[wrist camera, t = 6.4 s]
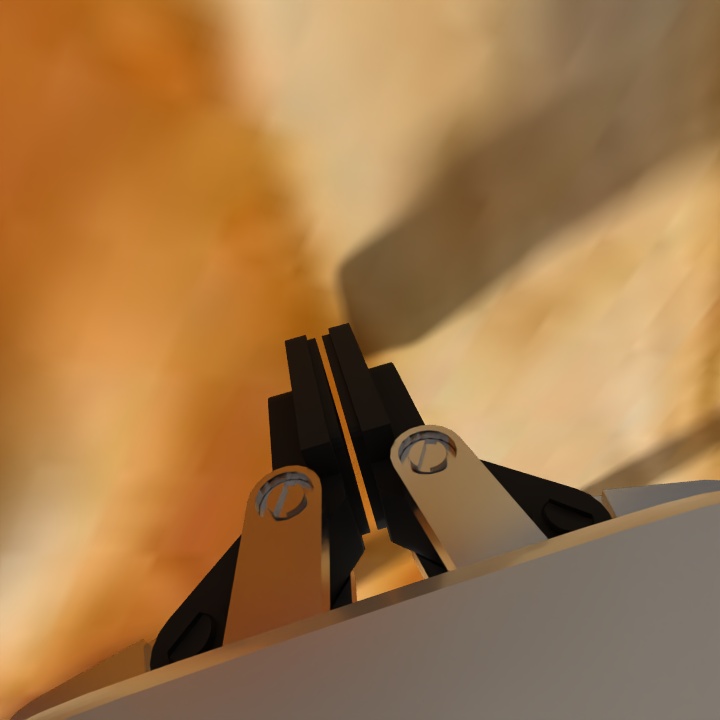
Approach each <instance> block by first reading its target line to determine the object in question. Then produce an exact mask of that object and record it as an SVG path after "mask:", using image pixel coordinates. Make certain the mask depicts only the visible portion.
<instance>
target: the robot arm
mask: <svg viewBox="0 0 720 720" xmlns="http://www.w3.org/2000/svg"><path fill="white" fill-rule="evenodd" d="M328 330H329V334H328V335H324V336H322V339H323V342H324V346H325V349H326V353H327V356H328V360H329V363H330V367H331V370H332V374H333V377H334V381H335V384H336V388H337V391H338V395H339V398H340V402H341V405H342V409H343V412H344V415H345V419H346V422H347V426H348V429H349V433H350V436H351V440H352V443H353V446H354V450H355V453H356V457H357V460H358V464H359V467H360V470H361V474H362V477H363V481H364V484H365V487H366V491H367V494H368V498H369V501H370V505H371V508H372V511H373V515H374V518H375V522H376V525H377V529H378V530H379V529H383V528H386V527H387V529H388V533H389V536H390V539H391V541H393V543H396V544H398V545H400V546H402V547H404V548H407V549H409V550H411V552H412V555H413V558H414V561H415V562H416V564H417V566H418V568H419V570H420V572H421V574H422V575H423V577H424V580H421V581H418V582H415V583H412V584H409V585H406V586H403V587H400V588H397V589H394V590H391V591H388V592H385V593H382V594H379V595H376V596H373V597H370V598H367V599H364V600H361V601H358V602H357V595H356V579H355V575H354V570H353V568H354V567H355V565H356V564H357V562H358V560H359V559H360V557H361V555H362V554H363V552H364V550H365V547H364V543H363V539H362V535H364V534H367V533H370V529H369V525H368V521H367V518H366V514H365V511H364V507H363V503H362V500H361V496H360V492H359V489H358V485H357V481H356V478H355V474H354V470H353V467H352V463H351V459H350V456H349V452H348V449H347V445H346V441H345V438H344V434H343V430H342V427H341V423H340V420H339V416H338V413H337V410H336V406H335V403H334V399H333V396H332V393H331V389H330V386H329V383H328V379H327V376H326V373H325V369H324V366H323V362H322V359H321V356H320V352H319V349H318V346H317V342H316V339H315V338H314V339H310V340H307V337H306V335H304V336H300V337H297V338H293V339H290V340H286V341H285V346H286V353H287V360H288V366H289V373H290V380H291V387H292V391H290V392H287V393H284V394H280V395H277V396H273V397H270V398H269V399H268V409H269V424H270V438H271V453H272V468H273V471H272V472H271V473H269V474H267V475H266V476H264V477H263V478H262V479H261V480H260V481H259V482H258V483H257V484H256V485H255V487H254V488H253V490H252V491H251V493H250V496H249V499H248V501H247V507H246V513H245V518H244V524H243V530H242V534H241V535H240V537H239V538H238V539H237V540H236V541H235V542H234V544H233V545H232V546H231V547H230V548H229V549H228V551H227V552H226V553H225V554H224V555H223V557H222V558H221V559H220V560H219V561H218V562H217V564H216V565H215V566H214V567H213V568H212V569H211V571H210V572H209V573H208V574H207V575H206V576H205V578H204V579H203V580H202V581H201V582H200V583H199V585H198V586H197V587H196V588H195V589H194V590H193V592H192V593H191V594H190V595H189V596H188V597H187V599H186V600H185V601H184V602H183V603H182V605H181V606H180V607H179V608H178V609H177V610H176V612H175V613H174V614H173V615H172V616H171V617H170V619H169V620H168V621H167V623H166V624H165V625H164V627H163V628H162V630H161V631H160V633H159V634H158V637H157V638H156V639H154V640H152V641H151V642H149V643H147V642H146V641H145V640H144V639H142V640H140V641H138V642H136V643H135V644H133V645H131V646H129V647H128V648H126V649H124V650H122V651H120V652H119V653H117V654H115V655H113V656H111V657H110V658H108V659H106V660H104V661H102V662H101V663H99V664H97V665H95V666H93V667H92V668H90V669H88V670H86V671H85V672H83V673H81V674H79V675H77V676H76V677H74V678H72V679H70V680H68V681H67V682H65V683H63V684H61V685H59V686H58V687H56V688H54V689H52V690H51V691H49V692H47V693H45V694H43V695H42V696H40V697H38V698H36V699H34V700H33V701H31V702H30V703H29V704H27V705H26V706H25V707H23V708H22V709H20V710H19V711H18V712H17V713H16V714H15V715H14V716H13V717H12V718H11V719H10V720H720V480H699V481H689V482H679V483H668V484H658V485H648V486H638V487H628V488H618V489H608V490H603V492H602V496H594V497H592V496H591V495H589V494H587V493H585V492H583V491H580V490H578V489H575V488H572V487H569V486H565V485H562V484H559V483H556V482H552V481H549V480H546V479H542V478H539V477H536V476H533V475H529V474H526V473H523V472H519V471H516V470H513V469H509V468H506V467H503V466H500V465H496V464H493V463H490V462H486V461H483V460H480V459H478V457H477V456H476V455H475V454H474V453H473V452H472V450H471V449H470V448H469V447H468V446H467V445H466V443H465V442H464V441H463V440H462V439H461V438H460V437H459V436H458V435H457V434H456V433H455V432H453V431H452V430H450V429H447V428H445V427H442V426H436V425H425V424H424V422H423V420H422V418H421V416H420V414H419V412H418V411H417V409H416V407H415V405H414V403H413V401H412V399H411V397H410V395H409V393H408V391H407V389H406V387H405V385H404V383H403V382H402V380H401V378H400V376H399V374H398V372H397V370H396V368H395V366H394V364H393V363H392V362H390V363H387V364H383V365H380V366H377V367H373V368H370V369H368V367H367V365H366V363H365V360H364V358H363V356H362V353H361V351H360V348H359V346H358V344H357V341H356V339H355V336H354V334H353V332H352V329H351V327H350V325H349V323H346V324H343V325H339V326H336V327H332V328H329V329H328Z"/></svg>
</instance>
